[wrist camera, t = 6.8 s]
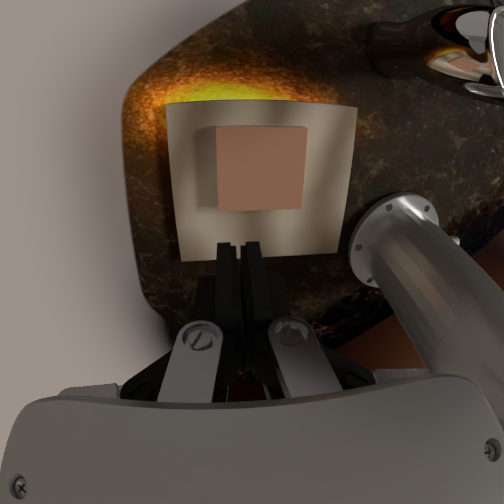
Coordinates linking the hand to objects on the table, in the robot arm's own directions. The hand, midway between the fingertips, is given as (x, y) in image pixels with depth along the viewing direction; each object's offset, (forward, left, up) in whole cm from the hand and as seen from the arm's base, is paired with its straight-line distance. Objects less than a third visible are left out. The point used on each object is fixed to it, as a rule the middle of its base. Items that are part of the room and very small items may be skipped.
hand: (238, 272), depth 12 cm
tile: (+1, 0, -13) cm, 13 cm away
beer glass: (-15, -12, -16) cm, 25 cm away
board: (-3, +2, -16) cm, 16 cm away
